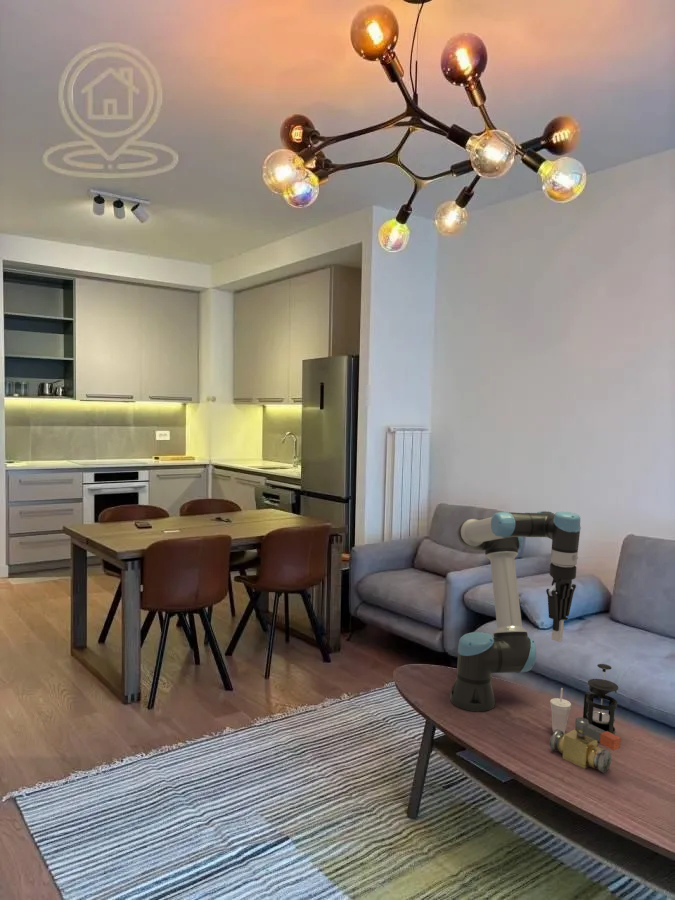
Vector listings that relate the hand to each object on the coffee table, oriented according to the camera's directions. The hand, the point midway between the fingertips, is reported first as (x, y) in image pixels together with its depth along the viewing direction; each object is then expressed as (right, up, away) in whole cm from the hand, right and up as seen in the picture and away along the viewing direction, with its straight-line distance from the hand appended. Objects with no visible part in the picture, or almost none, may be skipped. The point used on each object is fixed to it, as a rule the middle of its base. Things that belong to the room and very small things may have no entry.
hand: (556, 640), depth 204 cm
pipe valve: (+4, -33, -7) cm, 34 cm away
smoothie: (+4, -32, +10) cm, 34 cm away
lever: (+7, -25, -12) cm, 28 cm away
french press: (+16, -33, +9) cm, 38 cm away
